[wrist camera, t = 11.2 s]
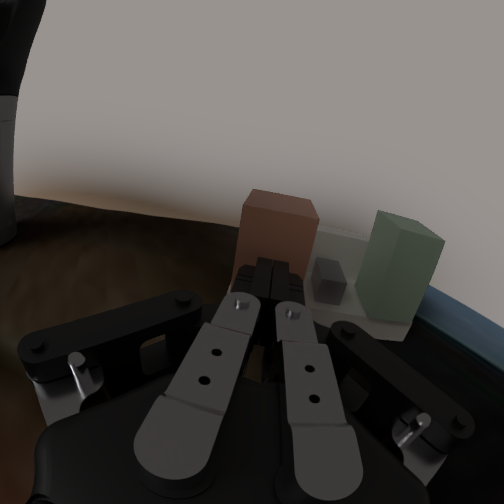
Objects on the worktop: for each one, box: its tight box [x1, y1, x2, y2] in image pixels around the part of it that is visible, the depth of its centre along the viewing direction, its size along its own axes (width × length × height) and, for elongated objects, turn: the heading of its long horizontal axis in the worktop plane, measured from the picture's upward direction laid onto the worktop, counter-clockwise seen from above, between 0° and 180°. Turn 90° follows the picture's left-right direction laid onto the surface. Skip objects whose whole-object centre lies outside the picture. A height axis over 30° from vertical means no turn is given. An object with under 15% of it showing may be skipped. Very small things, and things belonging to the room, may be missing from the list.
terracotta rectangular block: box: [230, 189, 319, 292], centre depth 18 cm, size 4×5×7 cm
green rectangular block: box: [354, 210, 445, 323], centre depth 20 cm, size 4×5×7 cm
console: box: [227, 225, 413, 341], centre depth 23 cm, size 15×8×6 cm, turn 84°
